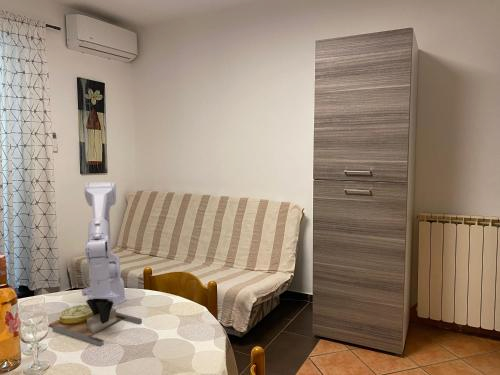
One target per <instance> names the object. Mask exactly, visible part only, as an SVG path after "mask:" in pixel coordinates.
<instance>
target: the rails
mask: <svg viewBox="0 0 500 375" xmlns="http://www.w3.org/2000/svg"><path fill="white" fill-rule="evenodd" d="M116 317H118V318H121V321H124V322H127V323H132V324H134V325H135V324H136V325H142V323H143V319H142V318H140V317H136V316H133V315H129V314H128V315H127V314H125V313H121V312H120V313H119V312H116ZM51 328H52V332H54V333H57V334H60V335H63V336H66V337H69V338H73V339H75V340H79V341H81V342H85V343H87V344H90V345H95V346H97V347H102V346H104V345H105V343H104V342H105V341H104V339H102V338H98V337H96V336H95V337H94V336H93V335H92V336H89V335H85V334H82V333H79V332H76V331H73V330H69V329H66V328H63V327H60V326H53V327H51Z"/></svg>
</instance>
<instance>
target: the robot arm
mask: <svg viewBox="0 0 500 375" xmlns="http://www.w3.org/2000/svg"><path fill="white" fill-rule="evenodd" d="M84 198H85V200H86V203H87V204H88V206H89V207H92V220H90V221H89V222H88V235H87V236H88V237H87V241H85V247H84V253H85V258H86V262H87V263H86V264H87V266H88V279H89V287H85V288H83V289H81V296H82V297H86V296H87V299H86V304H87V305H89V307H90V308H91V310H92V312H93V315H94V316H95V315H97V314H99V313H100V319H101V322H102V323H103V324H104V323H106V322H108V320H109V315H110V311H111V308H114V307H116V306H119V305H120V304H122V303H124V302H127V298H126V294H125V293H126V292H125V281H124V279H123V278H122V277H121V263H120V257H119V255H117V254H116V253H114V252H112V243H111V223H110V211H111V207H112V206H114V205H116V202H117V186H116V183H115V181H107V182H106V181H103V182H101V181H100V182H99V181H98V182H86V183H85V184H84Z"/></svg>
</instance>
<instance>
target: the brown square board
mask: <svg viewBox="0 0 500 375" xmlns="http://www.w3.org/2000/svg"><path fill="white" fill-rule="evenodd" d="M116 311H117V309H116V308H114V307H112V308H111V311H110V315H109V320H108V322H106V323H104V324H103V323H102V322H101V319H100V313H99V314H97V315H95V316H92V317H90V318H88V319H87V321H86V322H84V323H80V324H74V325H65V324H63V323H61V321H60V319H59V318H58V319H57V320H55V321H52V322H49V323H48V324H49V326H48V327H49V328H52V327H53V326H60V327H63V328H66V329H69V330H73V331H76V332H79V333H82V334H85V335H89V336H92V337H93V336H94V335H96V334H97V333H100V332H101V331H103V330H106V329H108V328H110V327H111V326H113V325H115V324H117V323H119V322H120V321H122V320H121V318H118V317H116Z"/></svg>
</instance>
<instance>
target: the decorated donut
mask: <svg viewBox="0 0 500 375" xmlns="http://www.w3.org/2000/svg"><path fill="white" fill-rule="evenodd" d="M92 316H94V315H93V312H92V310H91V308H90V307H89V305H88V304H87V305H85V304H79V305H73V306H71V307H69V308H66V309H65V310H64V309H63V311H62V312H60V314H59V316H58V320H59V319H60V321H61V323H63V324H65V325H74V324H80V323H84V322H86V321H87V319H88V318H90V317H92Z"/></svg>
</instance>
